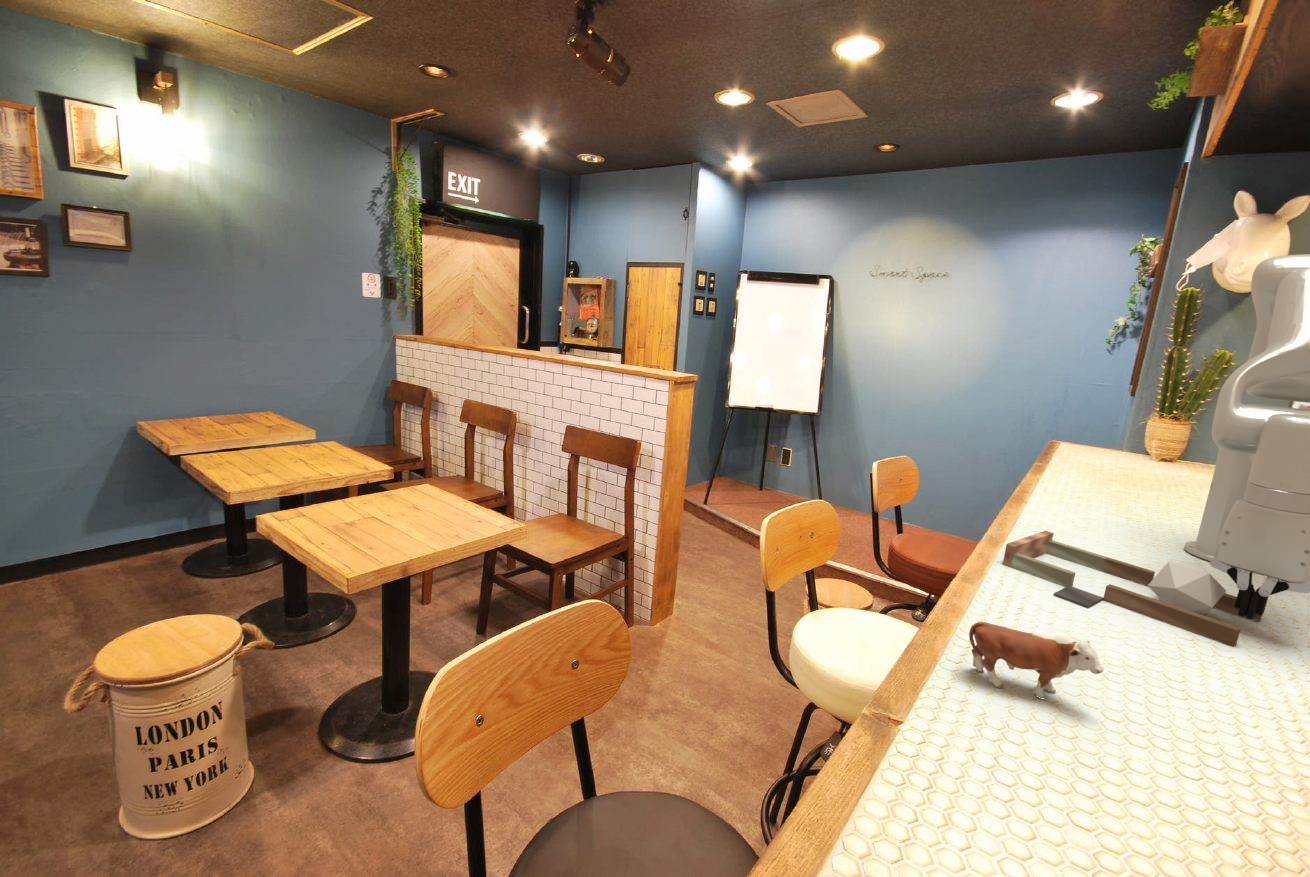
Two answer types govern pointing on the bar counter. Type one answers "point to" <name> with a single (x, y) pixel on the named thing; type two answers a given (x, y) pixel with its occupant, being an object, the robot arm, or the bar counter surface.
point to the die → (1187, 587)
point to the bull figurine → (1030, 654)
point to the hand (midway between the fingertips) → (1247, 615)
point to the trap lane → (1041, 543)
